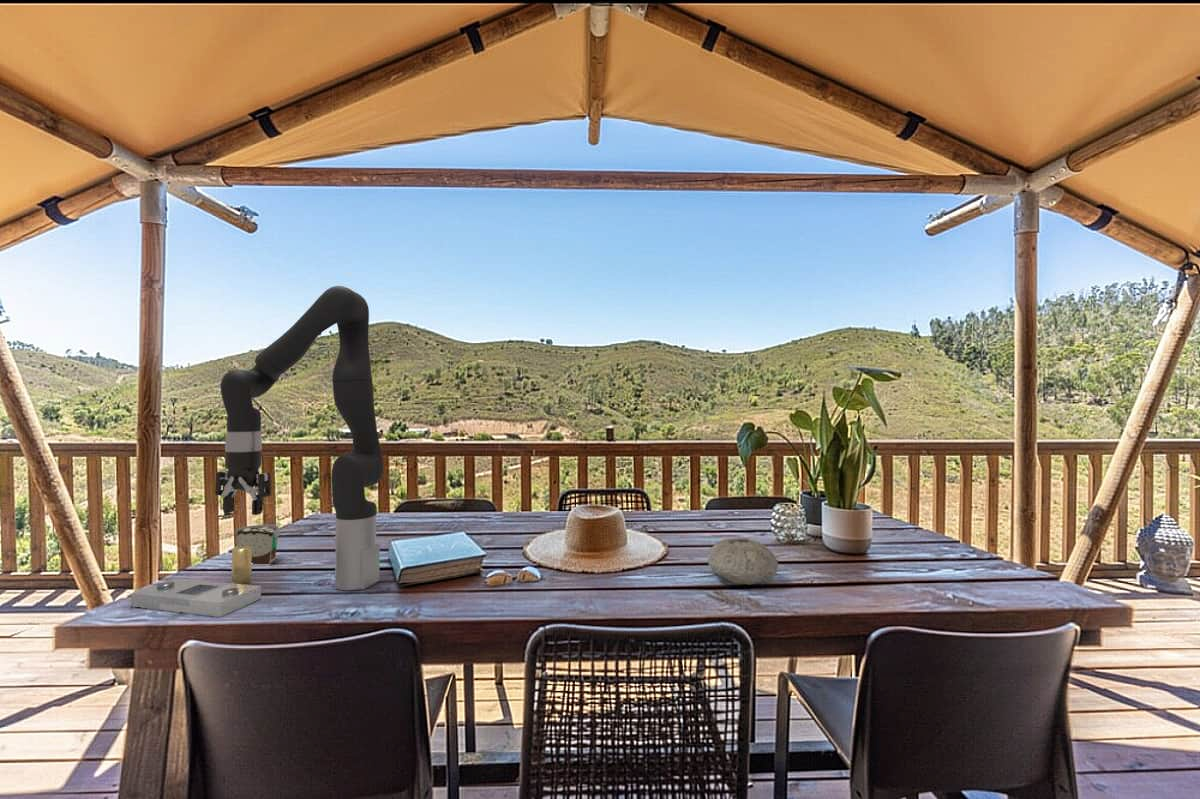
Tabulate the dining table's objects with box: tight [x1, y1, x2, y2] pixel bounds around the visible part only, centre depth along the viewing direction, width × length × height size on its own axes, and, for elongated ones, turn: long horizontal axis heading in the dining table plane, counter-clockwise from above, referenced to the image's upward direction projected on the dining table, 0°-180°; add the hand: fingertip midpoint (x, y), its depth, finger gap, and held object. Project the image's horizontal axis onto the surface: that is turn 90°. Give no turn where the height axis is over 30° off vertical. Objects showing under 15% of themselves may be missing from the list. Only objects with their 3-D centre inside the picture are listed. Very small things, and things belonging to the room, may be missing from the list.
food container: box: [234, 524, 282, 566], centre depth 142 cm, size 12×6×10 cm, turn 84°
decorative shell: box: [707, 537, 779, 586], centre depth 131 cm, size 18×18×10 cm
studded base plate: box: [130, 577, 262, 618], centre depth 113 cm, size 24×10×4 cm, turn 79°
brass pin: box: [231, 546, 252, 585], centre depth 125 cm, size 4×4×9 cm
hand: (242, 513), depth 125 cm, fingers open, 8 cm apart
